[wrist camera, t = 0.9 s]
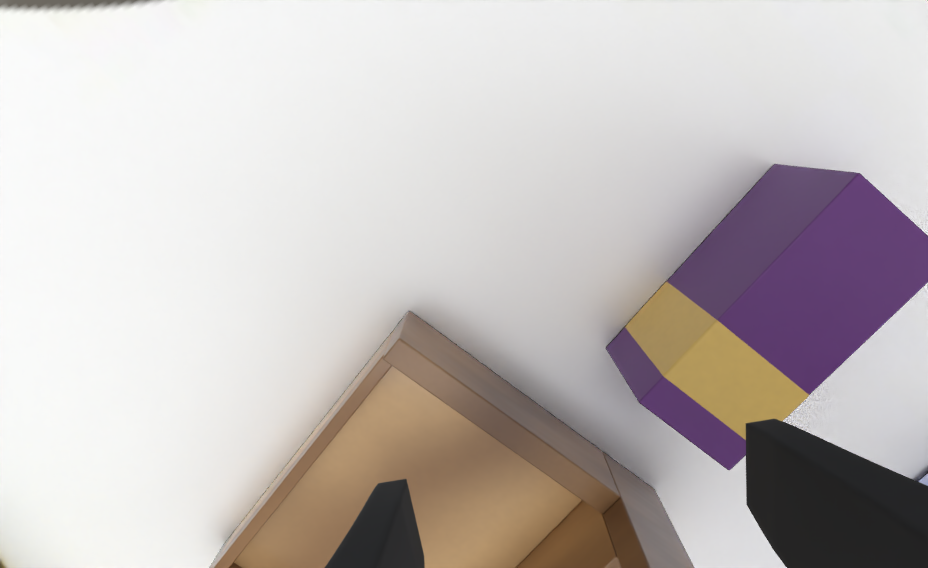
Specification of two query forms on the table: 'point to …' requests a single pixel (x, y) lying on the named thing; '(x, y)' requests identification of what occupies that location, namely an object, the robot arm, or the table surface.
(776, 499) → the robot arm
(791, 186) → the chocolate bar
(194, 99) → the table surface
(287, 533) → the tray
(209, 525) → the table surface
